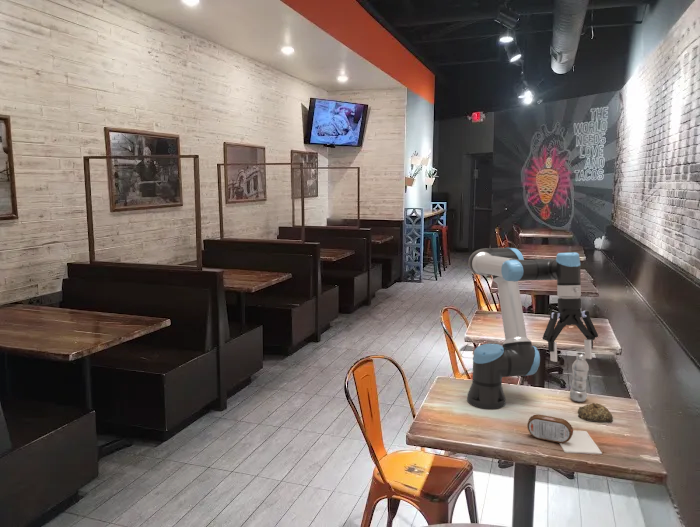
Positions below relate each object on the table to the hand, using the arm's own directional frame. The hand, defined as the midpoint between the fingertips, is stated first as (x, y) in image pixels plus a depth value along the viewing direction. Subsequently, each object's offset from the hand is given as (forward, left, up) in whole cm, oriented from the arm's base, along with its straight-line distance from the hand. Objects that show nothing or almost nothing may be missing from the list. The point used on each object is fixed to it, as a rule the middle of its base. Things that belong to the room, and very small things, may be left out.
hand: (571, 359), depth 190 cm
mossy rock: (+17, +22, -30) cm, 41 cm away
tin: (-6, -1, -29) cm, 30 cm away
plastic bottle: (+15, +36, -30) cm, 50 cm away
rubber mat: (+3, -1, -30) cm, 30 cm away
